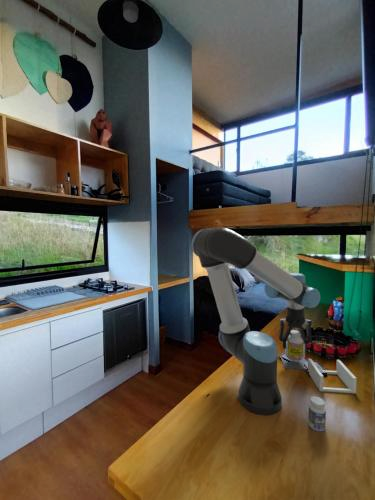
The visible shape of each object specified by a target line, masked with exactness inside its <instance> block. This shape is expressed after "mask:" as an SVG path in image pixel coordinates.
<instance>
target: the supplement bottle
mask: <svg viewBox="0 0 375 500" xmlns="http://www.w3.org/2000/svg"><path fill="white" fill-rule="evenodd" d="M287 342H288V357H287V358H288V359H289V360H291V361H294V362H300V361H302V353H303V338H302V336H301V332H300V330H296V329H292V330H291V332H290V334H289V337H288V339H287Z"/></svg>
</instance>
